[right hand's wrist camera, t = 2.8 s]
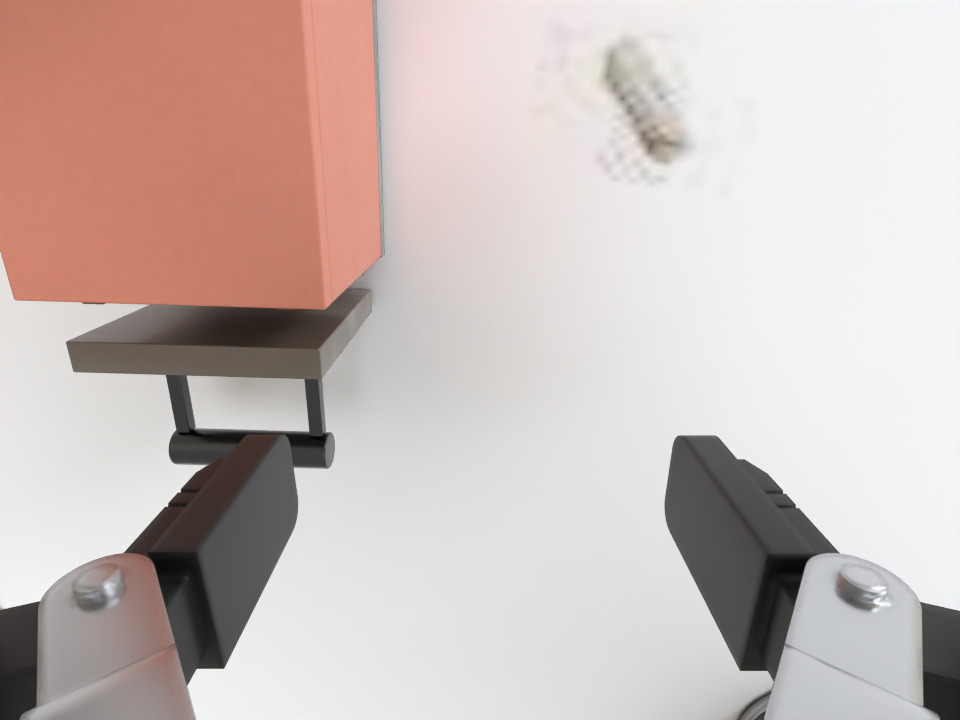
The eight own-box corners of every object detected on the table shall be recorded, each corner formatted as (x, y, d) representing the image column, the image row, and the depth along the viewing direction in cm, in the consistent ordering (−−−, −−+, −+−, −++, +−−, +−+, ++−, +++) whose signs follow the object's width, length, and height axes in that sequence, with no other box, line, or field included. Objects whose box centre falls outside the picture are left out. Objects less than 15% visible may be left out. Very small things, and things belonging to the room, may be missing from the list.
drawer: (376, 412, 30) (332, 515, 22) (216, 408, 30) (108, 509, 22) (355, -76, 22) (272, -227, 14) (137, -83, 22) (-85, -239, 14)
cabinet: (384, 254, 28) (325, 310, 18) (188, 248, 28) (12, 301, 18) (370, -187, 22) (265, -507, 11) (116, -196, 22) (-223, -525, 11)
